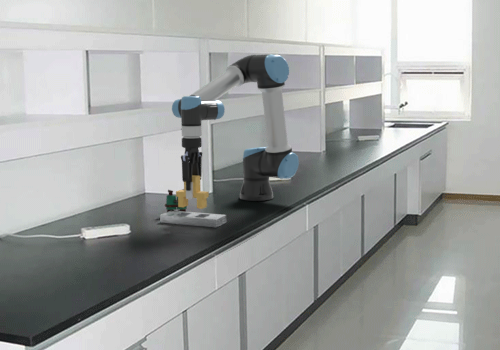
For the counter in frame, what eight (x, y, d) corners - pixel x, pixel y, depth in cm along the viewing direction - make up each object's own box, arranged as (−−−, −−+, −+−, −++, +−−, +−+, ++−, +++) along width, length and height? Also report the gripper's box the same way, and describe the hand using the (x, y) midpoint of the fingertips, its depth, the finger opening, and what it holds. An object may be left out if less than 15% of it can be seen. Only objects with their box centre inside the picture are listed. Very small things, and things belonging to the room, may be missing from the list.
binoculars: (185, 187, 297) (187, 189, 287) (186, 213, 298) (188, 215, 288) (164, 188, 296) (164, 190, 286) (164, 213, 296) (165, 216, 287)
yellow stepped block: (176, 206, 276) (175, 175, 274) (181, 204, 279) (180, 174, 278) (204, 209, 271) (203, 177, 269) (208, 207, 275) (208, 176, 273)
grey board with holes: (171, 217, 285) (171, 210, 285) (226, 222, 276) (226, 214, 275) (160, 222, 277) (160, 214, 276) (216, 227, 268) (216, 219, 267)
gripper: (193, 134, 280) (193, 193, 284) (171, 138, 265) (173, 200, 268) (210, 135, 278) (210, 194, 281) (190, 139, 262) (190, 202, 265)
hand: (192, 197), depth 275 cm, fingers closed on yellow stepped block, 4 cm apart
